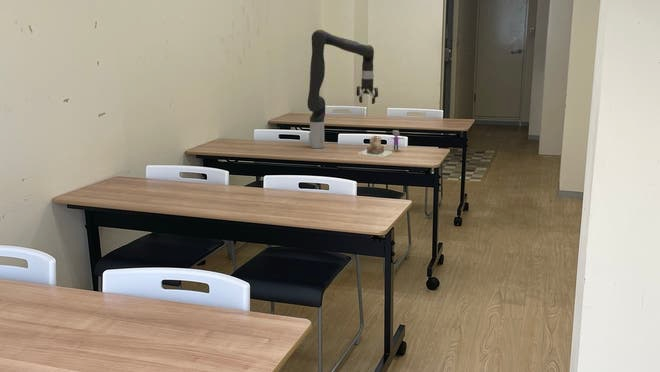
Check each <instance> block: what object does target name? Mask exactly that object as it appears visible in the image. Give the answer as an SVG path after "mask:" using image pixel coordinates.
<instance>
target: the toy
mask: <svg viewBox="0 0 660 372" xmlns="http://www.w3.org/2000/svg"><path fill="white" fill-rule="evenodd" d="M392 135H393V136H394V137H392V139H393V152H398V151H399V140H401V139H402V140H403V139H405V137H399V136H400V130H399V129H394V130H392Z"/></svg>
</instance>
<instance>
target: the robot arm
mask: <svg viewBox="0 0 660 372" xmlns="http://www.w3.org/2000/svg"><path fill="white" fill-rule="evenodd" d="M325 45H328V46H332V47H336V48H338V49H341V50H342V51H346V52H348V53H353V54H356V55H359V56H361V57H362V64H361V66H362V69H361V84H360V85H361V86H360V85H358V86H356V92H355V93H356V95H355V96H356V97H358V101H359V103H360V104H361V103H363V96H364V95H365V94H366V95H370V96H371V104H372V105H374V104H375V103H376V98H379V88H378V87H374V77H375V76H374V57H375V56H374V55H375V49H374V47H373V45H371V44H367V45H366V44H362V43H360V42H358V41H354V40H352V39H347V38H344V37H340V36H337V35H335V34H331V33H330V32H327V31H326V30H324V29H317V30H315V31H313V33H312V35H311V59H310V67H309V68H310V71H309V88H308V96H307V108H308V110H309V111H310V112H312V114H311V116H310V117H309V132H308V145H309V148H312V149H323V148H325V116H326V101H325V99H324V98H323V96H321V95H320V91H321V88H322V85H323V82H324V79H325V74H326V73H325V71H326V62H325V55H324V52H325V51H324V50H325Z"/></svg>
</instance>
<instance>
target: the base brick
mask: <svg viewBox="0 0 660 372" xmlns="http://www.w3.org/2000/svg"><path fill="white" fill-rule="evenodd" d="M366 149H367V153H368V154H377V155H379V154H381V153H383V152H384V151H385V145H382V144H381V146H380V147H378V148H376V147H370V145H369V146H367V147H366Z"/></svg>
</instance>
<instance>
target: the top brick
mask: <svg viewBox="0 0 660 372" xmlns="http://www.w3.org/2000/svg"><path fill="white" fill-rule="evenodd" d="M381 139H382V137H381V136H378V135H372V136H370V137H369V146H370V147H376V148H378V147H380V146H381V145H382V140H381Z"/></svg>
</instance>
